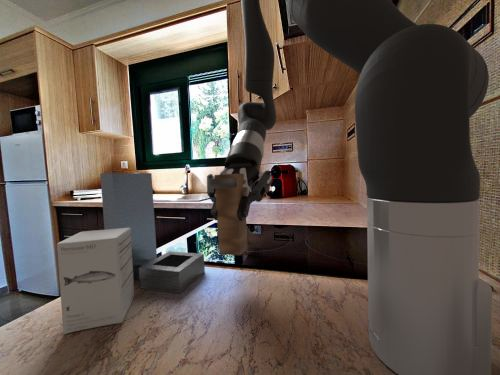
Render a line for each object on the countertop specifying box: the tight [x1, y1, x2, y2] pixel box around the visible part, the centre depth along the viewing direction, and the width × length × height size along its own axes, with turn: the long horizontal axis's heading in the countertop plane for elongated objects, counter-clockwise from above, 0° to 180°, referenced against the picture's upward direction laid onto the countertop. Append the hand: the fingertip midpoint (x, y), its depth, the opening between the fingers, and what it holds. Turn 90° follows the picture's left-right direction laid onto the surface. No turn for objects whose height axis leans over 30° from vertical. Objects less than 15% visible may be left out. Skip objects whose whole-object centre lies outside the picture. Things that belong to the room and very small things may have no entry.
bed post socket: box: [99, 172, 206, 295], centre depth 44 cm, size 16×10×22 cm, turn 73°
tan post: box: [210, 174, 249, 256], centre depth 38 cm, size 4×6×14 cm
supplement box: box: [56, 228, 135, 335], centre depth 33 cm, size 7×7×13 cm
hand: (227, 217), depth 37 cm, fingers closed on tan post, 4 cm apart
